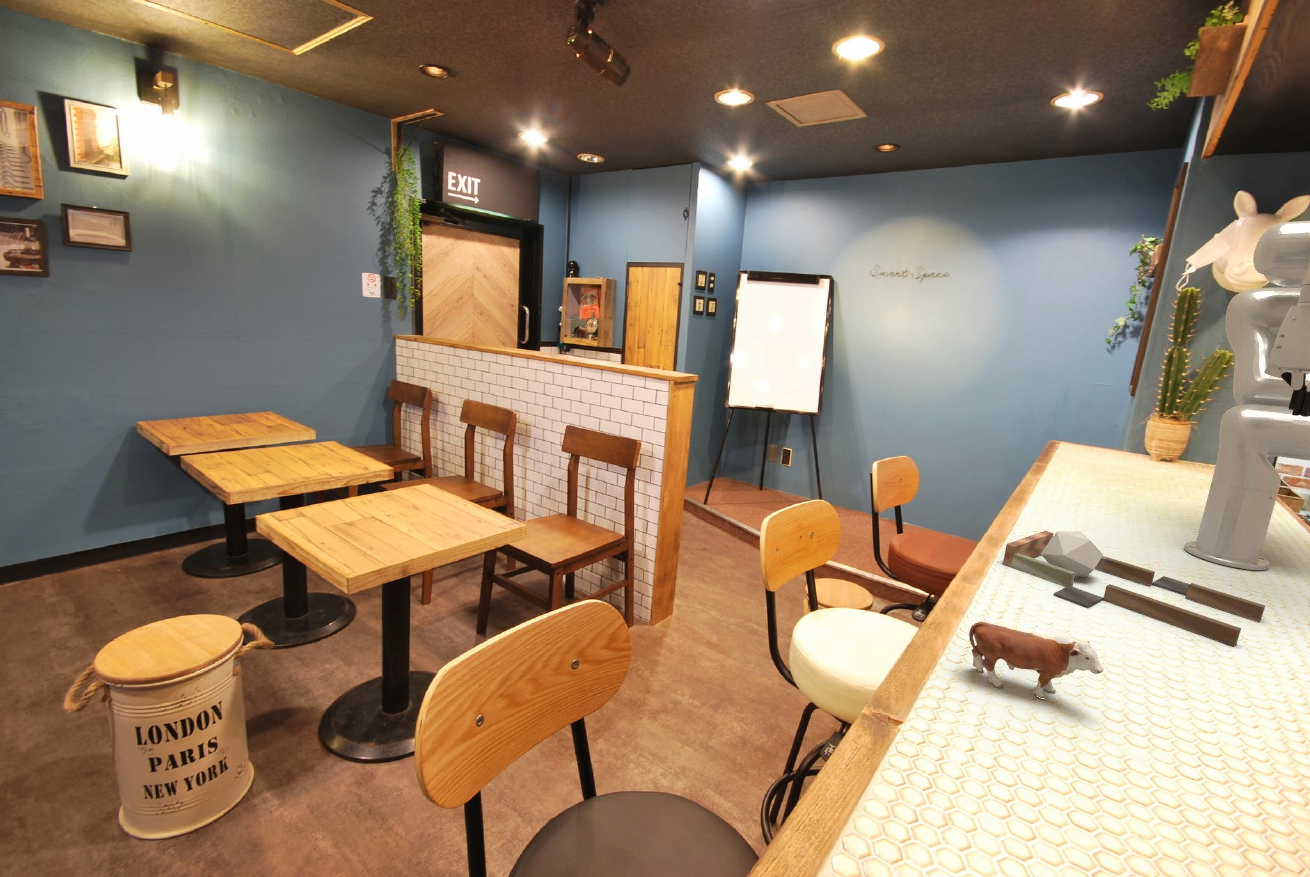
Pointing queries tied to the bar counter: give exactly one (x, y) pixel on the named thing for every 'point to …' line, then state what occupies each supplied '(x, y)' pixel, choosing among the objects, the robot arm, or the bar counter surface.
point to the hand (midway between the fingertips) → (1301, 415)
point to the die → (1072, 552)
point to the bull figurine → (1030, 654)
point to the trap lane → (1032, 546)
